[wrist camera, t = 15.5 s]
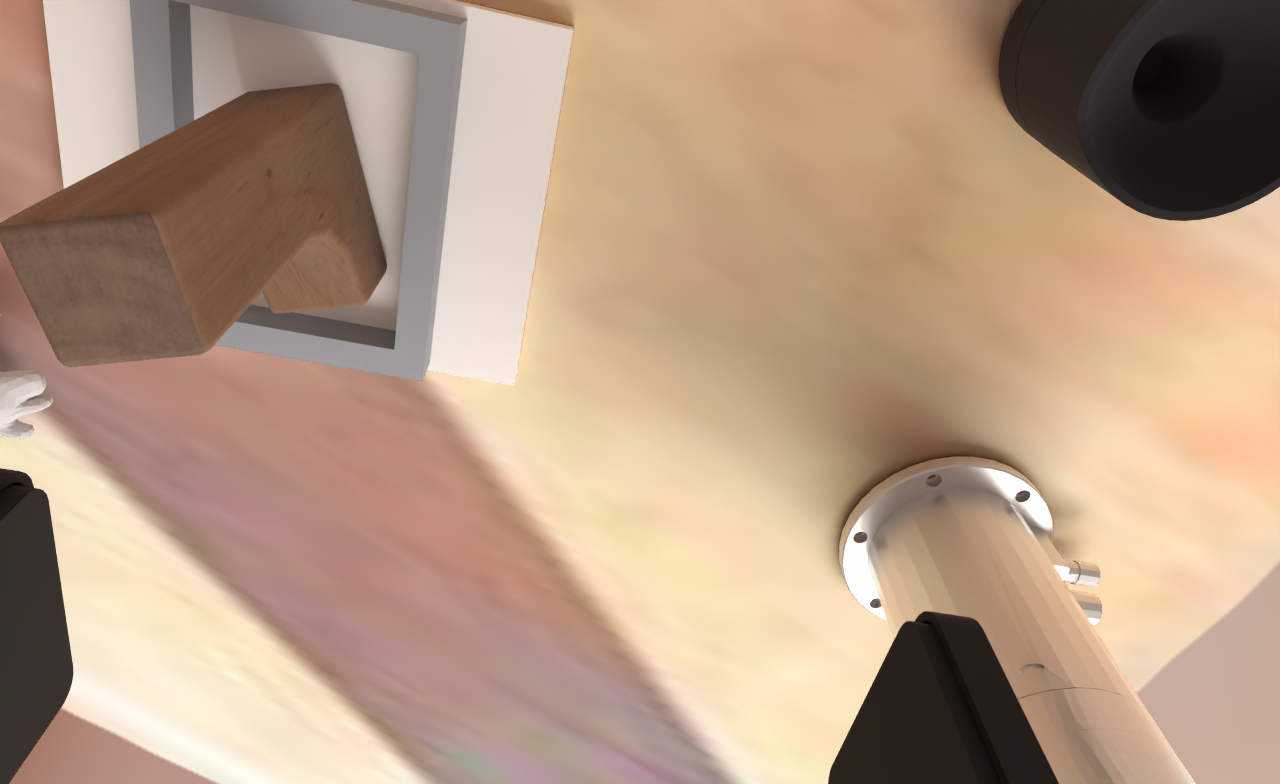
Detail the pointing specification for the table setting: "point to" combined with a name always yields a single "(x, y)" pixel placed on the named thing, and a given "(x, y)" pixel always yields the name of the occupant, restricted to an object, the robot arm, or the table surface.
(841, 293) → the table surface
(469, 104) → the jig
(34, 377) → the toy figure
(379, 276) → the wooden block
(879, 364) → the table surface
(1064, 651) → the robot arm
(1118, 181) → the pen holder
